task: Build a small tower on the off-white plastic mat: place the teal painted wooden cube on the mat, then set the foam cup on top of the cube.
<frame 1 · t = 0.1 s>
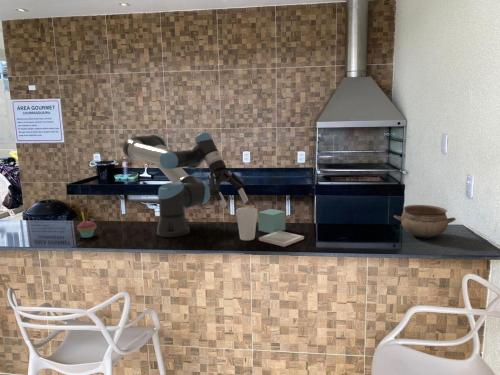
hand: (235, 204, 178), 15 cm above the counter, tool tilted 35°, fingers open, 13 cm apart
mat: (281, 239, 177), on the counter
foam cup: (247, 238, 180), on the counter
cupcake: (87, 236, 188), on the counter
block: (271, 230, 192), on the counter
cooking pot: (423, 236, 177), on the counter
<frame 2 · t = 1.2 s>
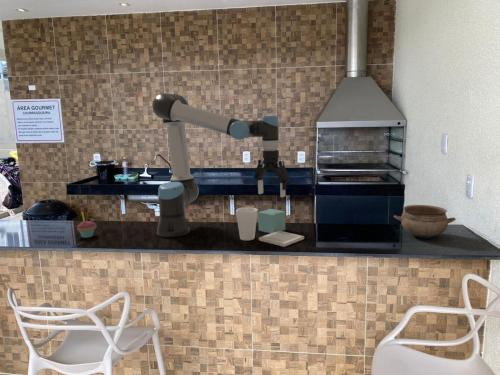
hand: (271, 195, 189), 17 cm above the counter, tool pointing down, fingers open, 13 cm apart
nothing on the counter moved.
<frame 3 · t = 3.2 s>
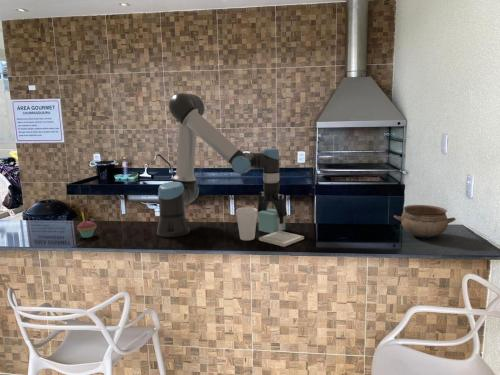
hand: (272, 228, 192), 1 cm above the counter, tool pointing down, fingers closed on block, 9 cm apart
block: (272, 230, 192), on the counter, touching gripper
everything else where it was.
when the fingers open (3 cm above the counter, at t = 8.1 s): block drops 1 cm, resting on mat.
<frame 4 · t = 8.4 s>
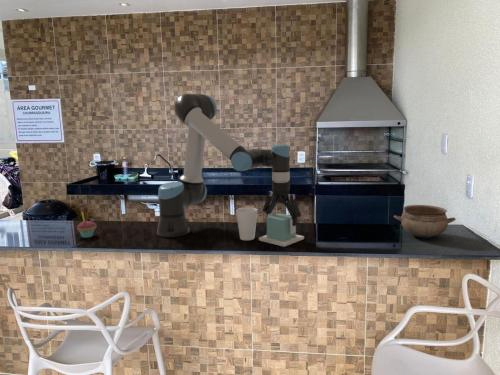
hand: (281, 230, 176), 4 cm above the counter, tool pointing down, fingers open, 12 cm apart
block: (281, 236, 177), point 1 cm above the counter, touching mat
everything else where it was.
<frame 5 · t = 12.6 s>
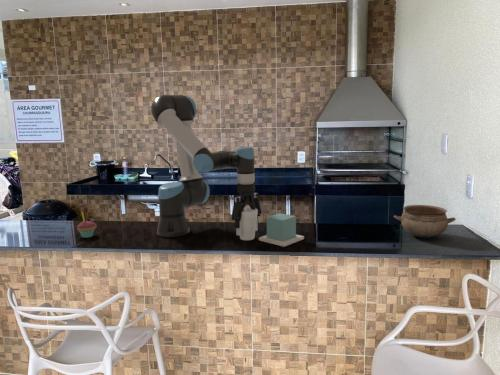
hand: (247, 232, 179), 3 cm above the counter, tool pointing down, fingers closed on foam cup, 9 cm apart
foam cup: (247, 238, 180), on the counter, touching gripper
everything else where it was.
when the fingers open (14 cm above the counter, at t = 17.5 s): foam cup drops 1 cm, resting on block.
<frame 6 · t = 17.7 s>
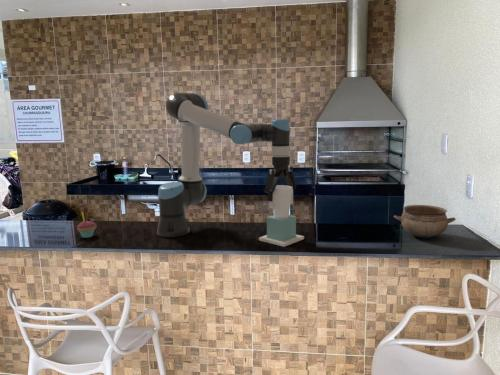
hand: (281, 206, 174), 15 cm above the counter, tool pointing down, fingers open, 12 cm apart
foam cup: (281, 217, 175), point 10 cm above the counter, touching block
block: (281, 236, 177), point 1 cm above the counter, touching foam cup, mat
everything else where it was.
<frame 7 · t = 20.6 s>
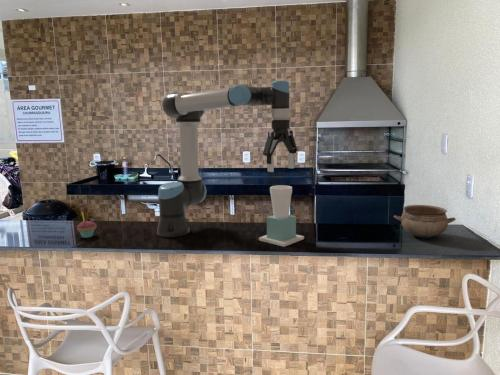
hand: (280, 170, 171), 31 cm above the counter, tool pointing down, fingers open, 13 cm apart
nothing on the counter moved.
at the end: block inside the target area on the mat (0.0 cm from its centre), point 1.3 cm above the mat's base; foam cup inside the target area on the block (0.0 cm from its centre), point 8.8 cm above the block's base; foam cup tilted 0° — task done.
